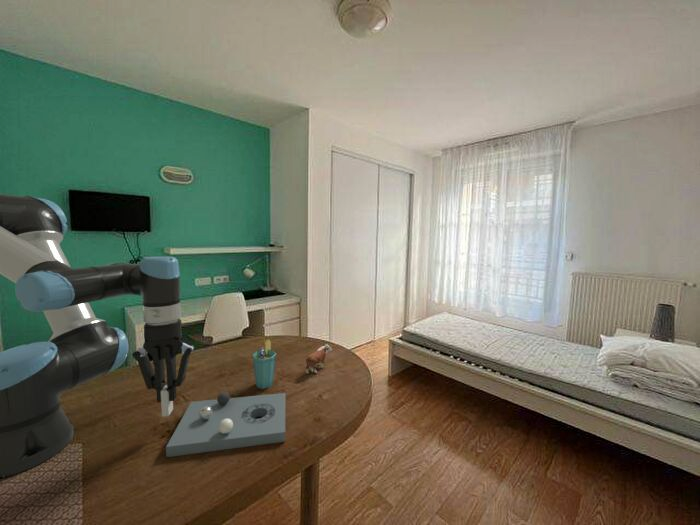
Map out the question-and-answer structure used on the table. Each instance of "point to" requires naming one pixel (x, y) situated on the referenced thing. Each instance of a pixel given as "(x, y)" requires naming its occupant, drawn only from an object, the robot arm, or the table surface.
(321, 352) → the bull figurine
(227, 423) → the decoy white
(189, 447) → the plate
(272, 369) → the cup
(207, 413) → the steel ball
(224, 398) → the matte dark gray ball
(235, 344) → the table surface
